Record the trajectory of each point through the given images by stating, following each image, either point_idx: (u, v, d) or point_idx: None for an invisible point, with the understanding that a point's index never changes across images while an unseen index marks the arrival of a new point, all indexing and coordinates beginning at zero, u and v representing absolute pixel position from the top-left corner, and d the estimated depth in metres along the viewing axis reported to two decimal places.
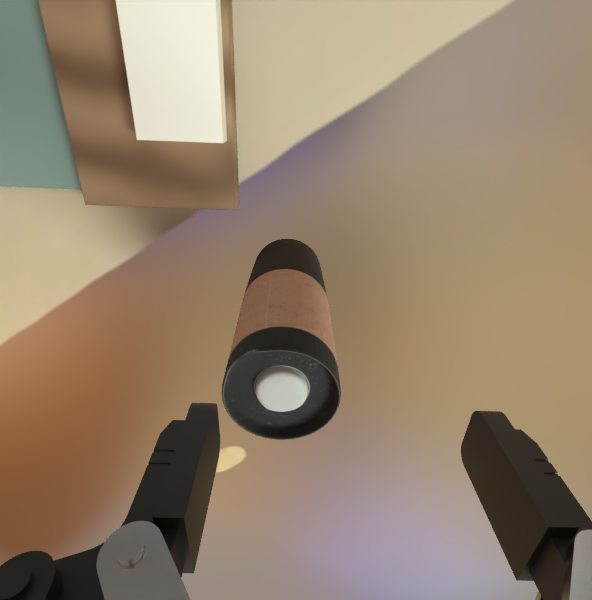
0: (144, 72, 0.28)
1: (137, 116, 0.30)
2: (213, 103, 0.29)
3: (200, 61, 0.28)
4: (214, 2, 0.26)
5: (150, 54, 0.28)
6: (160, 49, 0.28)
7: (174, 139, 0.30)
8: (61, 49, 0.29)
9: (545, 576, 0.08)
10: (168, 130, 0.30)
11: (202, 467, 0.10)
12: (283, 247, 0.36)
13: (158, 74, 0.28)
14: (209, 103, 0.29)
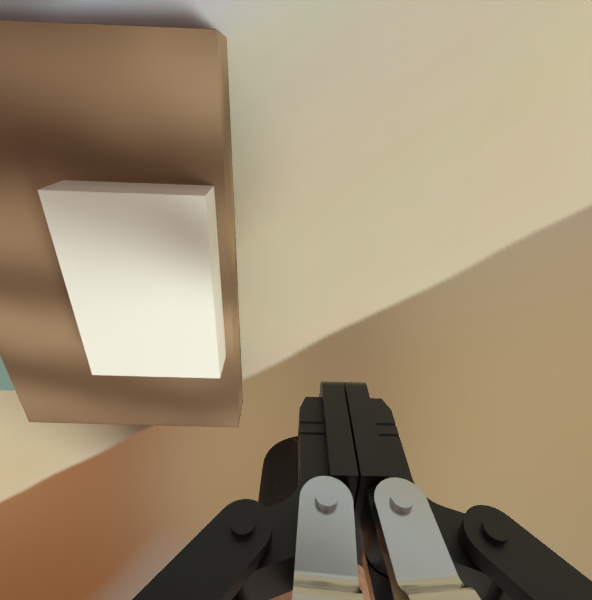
0: (97, 300, 0.18)
1: (91, 349, 0.20)
2: (205, 335, 0.19)
3: (184, 287, 0.18)
4: (204, 215, 0.16)
5: (105, 279, 0.18)
6: (120, 273, 0.18)
7: (148, 374, 0.21)
8: None
9: (364, 522, 0.09)
10: (138, 365, 0.20)
11: None
12: None
13: (119, 302, 0.18)
14: (199, 335, 0.19)
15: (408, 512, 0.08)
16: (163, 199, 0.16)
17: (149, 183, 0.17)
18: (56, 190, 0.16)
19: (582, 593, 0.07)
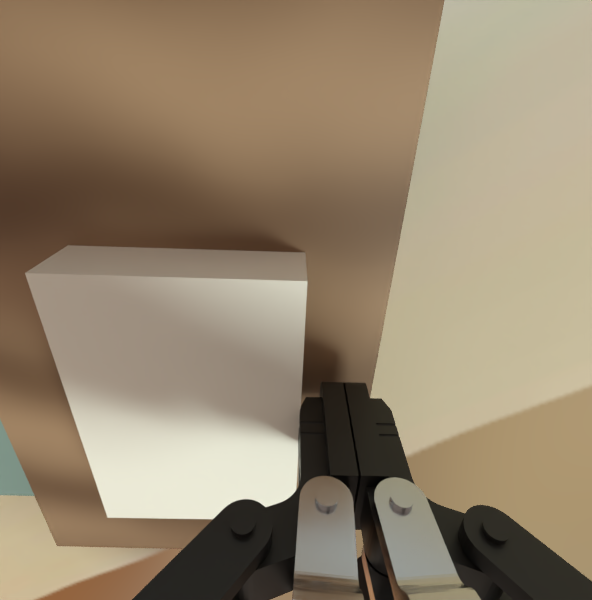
0: (120, 427, 0.12)
1: (107, 488, 0.13)
2: (280, 470, 0.13)
3: (256, 409, 0.11)
4: (302, 309, 0.10)
5: (133, 399, 0.11)
6: (158, 391, 0.11)
7: (189, 516, 0.14)
8: None
9: (364, 522, 0.09)
10: (176, 506, 0.14)
11: None
12: None
13: (153, 429, 0.12)
14: (271, 469, 0.13)
15: (408, 512, 0.08)
16: (236, 286, 0.09)
17: (204, 250, 0.11)
18: (57, 273, 0.09)
19: (582, 593, 0.07)
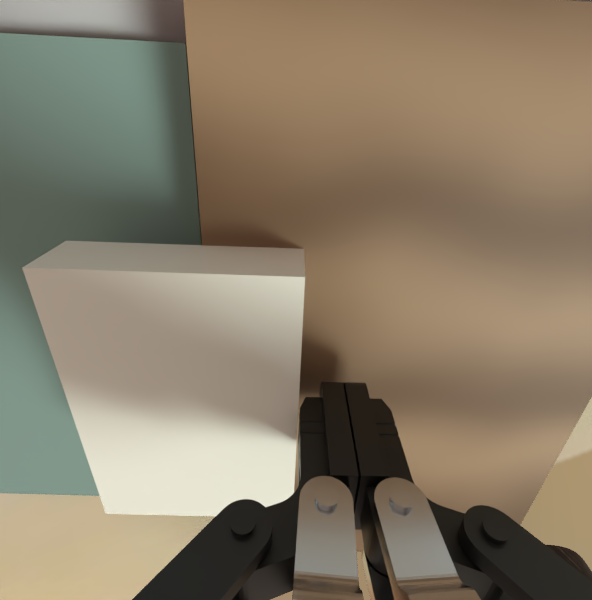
0: (117, 423, 0.12)
1: (105, 484, 0.13)
2: (278, 467, 0.13)
3: (253, 406, 0.11)
4: (300, 305, 0.10)
5: (131, 394, 0.11)
6: (155, 387, 0.11)
7: (187, 513, 0.14)
8: None
9: (364, 522, 0.09)
10: (174, 502, 0.14)
11: None
12: None
13: (151, 426, 0.12)
14: (269, 467, 0.13)
15: (408, 512, 0.08)
16: (233, 281, 0.09)
17: (202, 245, 0.11)
18: (54, 267, 0.09)
19: (582, 593, 0.07)
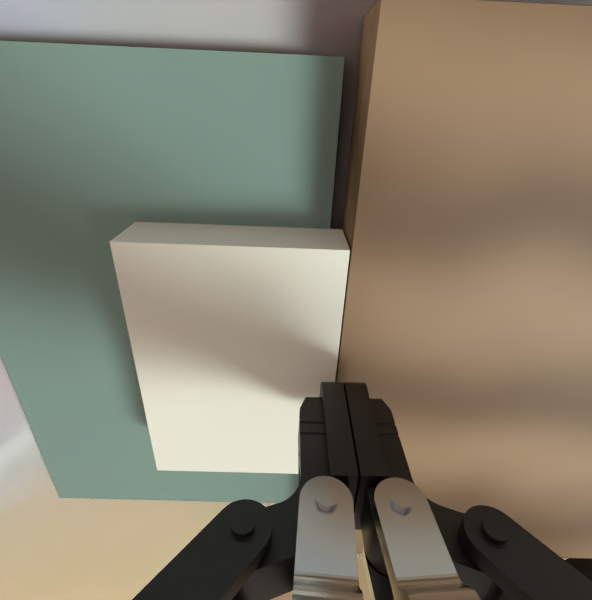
0: (176, 383, 0.13)
1: (159, 441, 0.15)
2: None
3: (297, 367, 0.13)
4: (344, 275, 0.11)
5: (191, 357, 0.13)
6: (213, 350, 0.13)
7: (230, 469, 0.16)
8: (366, 356, 0.13)
9: (364, 522, 0.09)
10: (220, 459, 0.15)
11: None
12: None
13: (206, 386, 0.13)
14: None
15: (408, 512, 0.08)
16: (289, 254, 0.11)
17: (254, 226, 0.13)
18: (136, 242, 0.11)
19: (581, 593, 0.07)
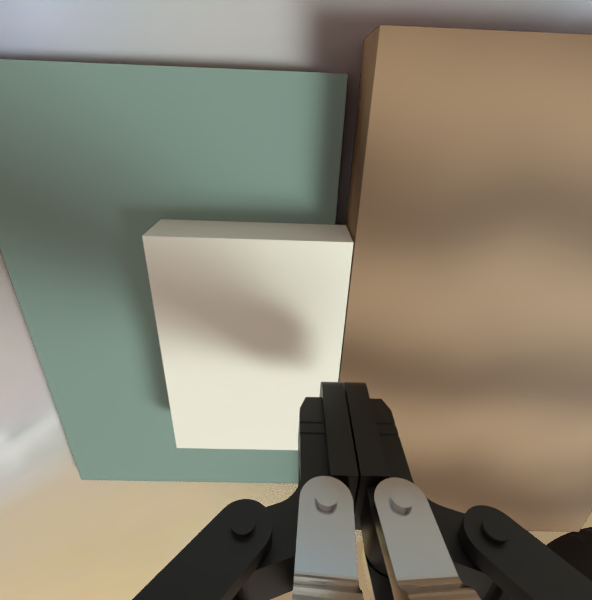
0: (197, 364, 0.15)
1: (179, 420, 0.16)
2: None
3: (306, 349, 0.14)
4: (348, 265, 0.13)
5: (211, 340, 0.14)
6: (231, 333, 0.14)
7: (244, 447, 0.17)
8: (367, 339, 0.14)
9: (364, 522, 0.09)
10: (234, 436, 0.17)
11: None
12: None
13: (223, 367, 0.15)
14: None
15: (408, 512, 0.08)
16: (300, 246, 0.13)
17: (267, 223, 0.14)
18: (165, 236, 0.12)
19: (581, 593, 0.07)
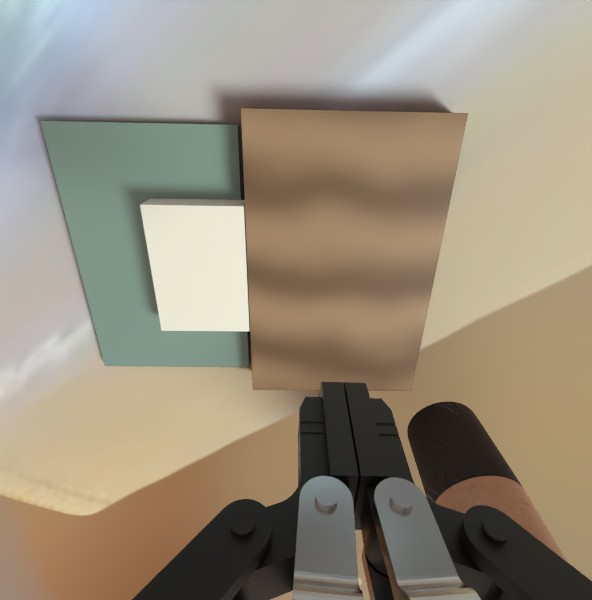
0: (170, 276, 0.28)
1: (162, 311, 0.29)
2: (240, 299, 0.29)
3: (227, 266, 0.27)
4: (242, 218, 0.26)
5: (176, 261, 0.27)
6: (187, 257, 0.27)
7: (199, 329, 0.30)
8: (259, 260, 0.27)
9: (364, 522, 0.09)
10: (193, 322, 0.30)
11: None
12: (456, 423, 0.34)
13: (184, 277, 0.28)
14: (236, 299, 0.29)
15: (408, 512, 0.08)
16: (217, 208, 0.25)
17: (205, 199, 0.27)
18: (151, 204, 0.25)
19: (582, 594, 0.07)
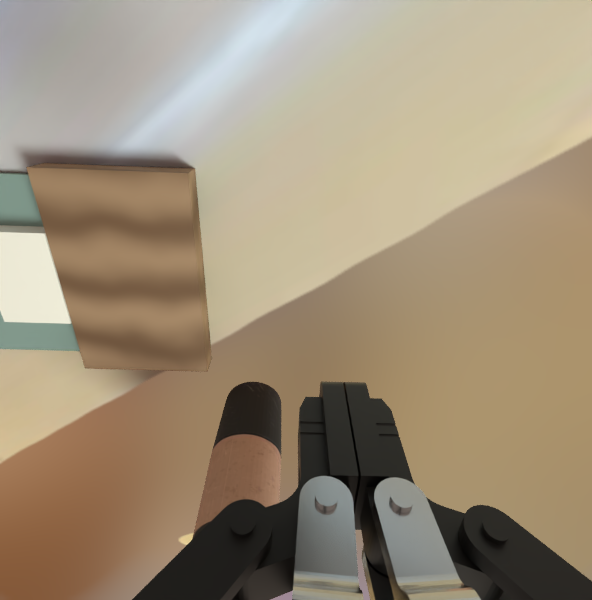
0: (2, 282, 0.38)
1: (2, 307, 0.39)
2: (58, 300, 0.39)
3: (42, 275, 0.37)
4: (45, 241, 0.36)
5: (4, 271, 0.37)
6: (11, 268, 0.37)
7: (33, 321, 0.40)
8: (66, 271, 0.37)
9: (364, 522, 0.09)
10: (27, 316, 0.39)
11: None
12: (247, 398, 0.44)
13: (12, 283, 0.38)
14: (55, 300, 0.39)
15: (408, 512, 0.08)
16: (25, 234, 0.35)
17: (24, 226, 0.37)
18: None
19: (581, 593, 0.07)
